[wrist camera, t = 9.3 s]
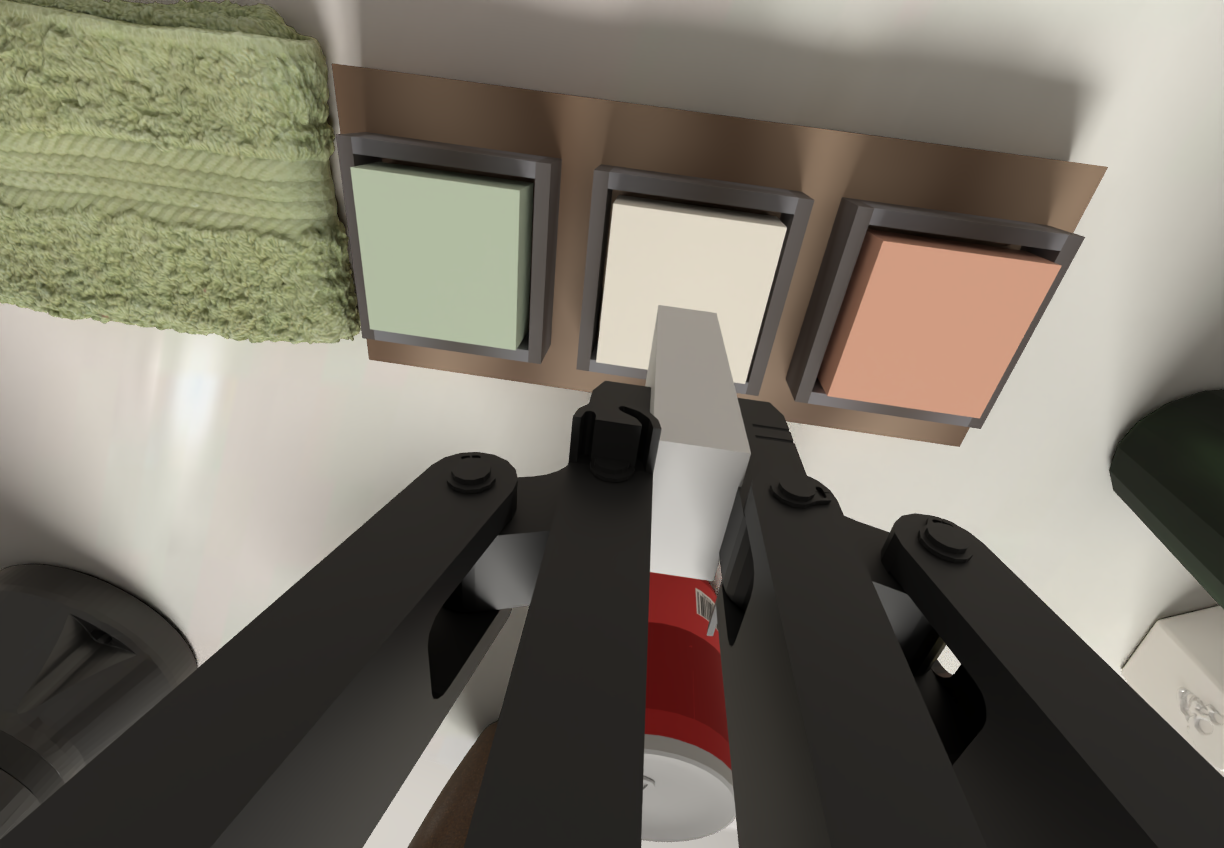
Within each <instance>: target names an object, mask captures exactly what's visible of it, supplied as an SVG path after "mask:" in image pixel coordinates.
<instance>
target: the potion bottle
mask: <svg viewBox="0 0 1224 848" xmlns="http://www.w3.org/2000/svg"><path fill="white" fill-rule="evenodd" d="M1109 471H1110V476H1111V481H1112V486H1113V490H1114V491H1115V492H1116V493H1117V495H1118V496H1119V497H1120V498H1121V499H1122V500H1123V501H1124V502H1125V503H1126V504H1127V505H1128V506H1129V508H1130V509H1131V510H1132V511H1133V512H1134V513H1135V514H1136V515H1137V516H1138V517H1139V518H1140V519H1141V520H1142V522H1143V523H1144V524H1145V525H1146V526H1147V527H1148V528H1149V529H1150V530H1151V531H1152V532H1153V533H1154V535H1155V536H1156V537H1157V538H1158V539H1159V540H1160V541H1161V542H1162V543H1163V544H1164V545H1165V546H1166V548H1167V549H1168V550H1169V551H1170V552H1171V553H1172V554H1173V555H1174V556H1175V557H1176V558H1177V559H1178V561H1179V562H1180V563H1181V564H1182V565H1183V566H1184V567H1185V568H1186V569H1187V570H1188V571H1189V572H1190V573H1191V575H1192V576H1193V577H1194V578H1195V579H1196V580H1197V581H1198V582H1199V583H1200V584H1201V585H1202V586H1203V588H1204V589H1205V590H1206V591H1207V592H1208V593H1209V594H1210V595H1211V596H1212V597H1213V598H1214V599H1215V601H1216V602H1217V603H1218V604H1219V605H1220V606H1221V607H1222V608H1223V609H1224V390H1212V391H1204V392H1200V393H1197V394H1194V395H1191V396H1188V397H1185V398H1182V399H1179V400H1177V401H1174V402H1171V403H1168V404H1165V405H1164V406H1162V407H1161V408H1159V409H1158V410H1156V411H1155V412H1153V413H1151V414H1150V415H1148V416H1147V417H1145V418H1144V419H1142V420H1140V421H1139V422H1138V423H1137V424H1136V425H1135V426H1134V427H1133V428H1132V429H1131V430H1130V432H1129V433H1128V434H1127V435H1126V436H1125V437H1124V438H1123V439H1122V440H1121V442H1120V443H1119V445H1118V447H1117V450H1116V453H1115V455H1114V458H1113V461H1112V464H1111V466H1110V469H1109Z"/></svg>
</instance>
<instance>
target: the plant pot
mask: <svg viewBox="0 0 1224 848" xmlns="http://www.w3.org/2000/svg"><path fill="white" fill-rule="evenodd" d="M497 724H498V721H497V722H495V723H493V724H491V725H489V726H488V727H487V728H486V729H485V730H484V731H483V732H482V733H481V735H480V736H479V738H478V739H477V740H476V742H475V743H474V745H473V746H472V747H471V749H470V750H469V751H468V753H467V754H466V756H465V757H464V759H463V760H462V761H461V763H460V764H459V766H458V767H457V769H456V770H455V772H454V773H453V775H452V776H451V778H450V779H449V781H448V782H447V784H446V785H445V787H444V788H443V790H442V791H441V793H440V795H439V796H438V798H437V799H436V801H435V803H434V804H433V806H432V808H431V809H430V811H429V813H428V814H427V816H426V817H425V819H424V821H423V822H422V824H421V826H420V827H419V829H418V831H417V832H416V834H415V836H414V838H413V839H412V841H411V843H410V844H409V846H408V848H464V845H465V841H466V838H467V834H468V830H469V827H470V823H471V819H472V816H473V812H474V808H475V805H476V801H477V797H478V794H479V790H480V786H481V783H482V779H483V775H484V772H485V768H486V764H487V761H488V757H489V753H490V750H491V746H492V742H493V739H494V735H495V731H496V728H497Z"/></svg>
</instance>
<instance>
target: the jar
mask: <svg viewBox="0 0 1224 848" xmlns="http://www.w3.org/2000/svg"><path fill="white" fill-rule="evenodd" d="M1121 675H1122V676H1123V678H1124V679H1125V680H1126V681H1127V683H1128V684H1129V685H1130V686H1131V687H1132V688H1133V689H1134V690H1135V691H1136V692H1137V693H1138V694H1139V695H1140V696H1141V697H1142V698H1143V699H1144V700H1145V701H1146V702H1147V703H1148V704H1149V705H1150V706H1151V707H1152V708H1153V709H1154V710H1155V711H1156V712H1157V713H1158V714H1159V715H1160V716H1161V717H1162V718H1163V719H1164V720H1165V721H1167V722H1168V723H1169V724H1170V725H1171V726H1172V727H1173V728H1174V729H1175V730H1176V731H1177V732H1178V733H1179V734H1180V735H1181V736H1182V737H1183V738H1184V739H1185V740H1186V741H1187V742H1188V743H1189V744H1190V745H1191V746H1192V747H1193V748H1194V749H1195V750H1196V751H1197V752H1198V753H1199V754H1200V755H1201V756H1203V757H1204V758H1205V759H1206V760H1207V761H1208V762H1209V763H1210V764H1211V765H1212V766H1213V767H1214V768H1215V769H1216V770H1217V771H1218V772H1219V773H1220V774H1221V775H1222V776H1223V777H1224V609H1223V608H1222V607H1221V606H1215V607H1211V608H1207V609H1203V610H1199V611H1194V612H1190V613H1186V614H1182V615H1177V616H1173V617H1169V618H1165V619H1160V620H1158V621H1157V622H1156V623H1155V624H1154V626H1153V627H1152V628H1151V630H1150V631H1149V633H1148V634H1147V635H1146V637H1145V638H1144V640H1143V641H1142V642H1141V644H1140V645H1139V647H1138V648H1137V649H1136V651H1135V652H1134V654H1133V655H1132V656H1131V658H1130V659H1129V660H1128V662H1127V663H1126V665H1125V666H1124V667H1123V669H1122V670H1121Z"/></svg>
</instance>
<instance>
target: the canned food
mask: <svg viewBox="0 0 1224 848" xmlns="http://www.w3.org/2000/svg"><path fill="white" fill-rule="evenodd" d="M716 598H717V596H716V594H715V592H714V590H713V588H712V586H711V585H710V584H709V582H708V581H707V580H701V579H695V578H688V577H681V576H674V575H668V574H661V573H654V572H650V586H649V617H648V648H647V679H646V710H645V741H644V773H643V804H642V835H641V840H646V841H655V842H678V841H688V840H694V839H699V838H703V837H706V836H709V835H712V834H715V833H717V832H718V831H721V830H723V829H724V828H726V827H727V826H728V825H729V824H731V823H732V822H733V821H734V819H735V817H736V811H735V801H734V790H733V780H732V769H731V759H730V748H729V738H728V727H727V717H726V707H725V696H724V686H723V675H722V665H721V654H720V644H719V633H718V624H717V625H716V628H715V631H714V634H713V636H707V629H708V624H709V621H710V617H711V614H712V611H713V608H714V604H715V601H716Z"/></svg>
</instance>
